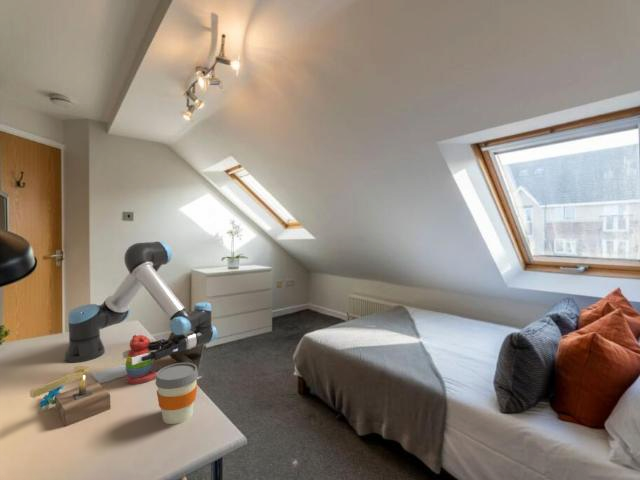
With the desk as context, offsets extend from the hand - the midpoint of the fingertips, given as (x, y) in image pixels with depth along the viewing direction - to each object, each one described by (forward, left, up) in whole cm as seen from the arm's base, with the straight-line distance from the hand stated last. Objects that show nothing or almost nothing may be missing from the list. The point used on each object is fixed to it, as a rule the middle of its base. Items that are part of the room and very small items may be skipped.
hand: (127, 358), depth 123 cm
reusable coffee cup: (+36, +3, -10) cm, 38 cm away
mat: (-13, -1, -10) cm, 16 cm away
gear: (-4, -22, -10) cm, 25 cm away
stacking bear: (0, +5, -10) cm, 11 cm away
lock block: (+8, -16, -10) cm, 21 cm away
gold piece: (+10, -22, -4) cm, 25 cm away
